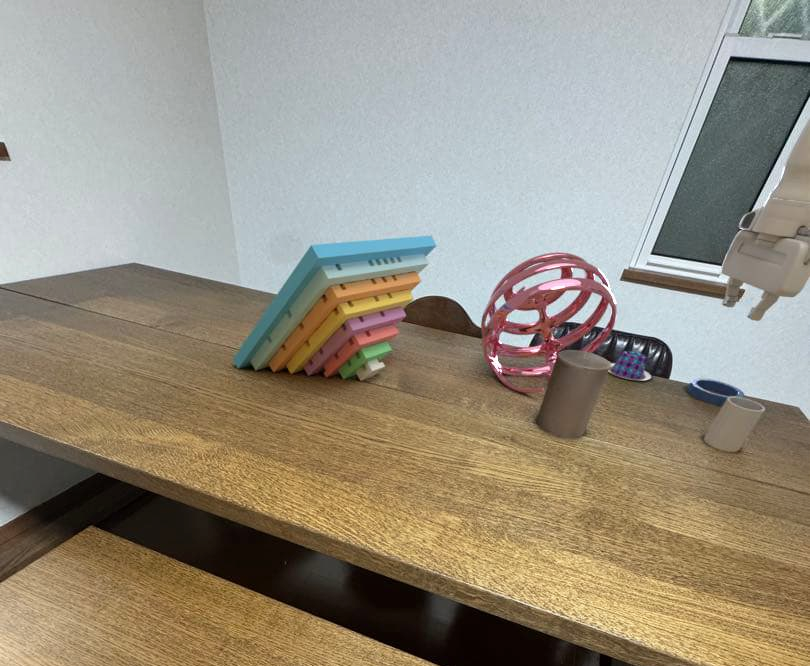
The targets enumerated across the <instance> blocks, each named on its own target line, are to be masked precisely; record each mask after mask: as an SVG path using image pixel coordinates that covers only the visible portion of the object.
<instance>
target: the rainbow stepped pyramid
mask: <svg viewBox="0 0 810 666" xmlns="http://www.w3.org/2000/svg"><path fill="white" fill-rule="evenodd" d="M436 247H437V243H436V241H435V239H434V237H433V235H420V236H409V237H408V236H407V237H406V236H405V237H395V238H394V237H393V238H383V239H382V238H381V239H369V240H355V241H345V242H331V243H330V242H329V243H319V244H311V245H310V246H309V247H308V249H307V250H306V251H305V253H304V255H303V256H302V258H301V259H300V260H299V262H298V263H297V264H296V266H295V268H294V269H293V270H292V272H291V274H290V275H289V276H288V278H287V279H286V281H285V282H284V284H283V285H282V286H281V288H280V289H279V290H278V292H277V294H276V295H275V296H274V298H273V299H272V301H271V303H270V304H269V305H268V307H267V308H266V309H265V311H264V312H263V314H262V316H261V317H260V318H259V320H258V322H257V323H256V324H255V325H254V327H253V328H252V330H251V331H250V333H249V334H248V336H247V337H246V339H245V340H244V341H243V342H242V345H241V346H240V348H239V349H238V350H237V352H236V353H235V355H234V356H233V357H232V361H233V363H234V365H235V366H236V368H237V369H242V368H246V367H249V366H252V367H253V368H254V370H255V371H259V370H262V369H265V368H270V369H271V371H272V372H273V373H275V372H279V371H282V370H285V369H287V370H288V372H289V373H290V375H292V374H295V373H299V372H301V371H305V372H306V374H307V376H309V377H310V376H312V375H315V374H318V373H322V372H323V375H324V377H325V378H329V377H332V376H335V375H338V374H340V377H341V378H342V379H343V380H345V379H348V378H352V377H353V376H356V375H357V377H358V379H359V380H360V382H362V381H364V380H367V379H370V378H373V377H374V376H375V375H377V374H378V373H379V372H380V371H381V370H382V369H384V368H385V367H386V366H385V363H384V362H383V361H381V360H383V358H384V357H385V356H387V355H388V354H389V353H391V352H392V350H393V349H392V346H391V345H390V342H391V341H392V340H393V339H395V337H397V336H398V335H399V334H400V332H399V329H398V328H397V325H398V324H400V322H402V321H403V320H404V319H405V318H406V317H407V314H406V312H405V310H404V309H405V308H406V307H407V306H408V305H409V304H410V303H412V301H413V300H414V299H415V298H414V295H413V294H412V291H413V290H414V289H415V288H416V287H418V285H419V284H420V283H421V282H422V278H421V277H420V275H419V274H420V273H421V272H422V271H423V270H424V269H425V268H426V267H427V266H428V265H429V264H430V262H429V261H428V258H427V256H428V255H429V254H430V253H431V252H432V251H433V250H434V249H435V248H436Z"/></svg>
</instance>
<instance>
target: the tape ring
mask: <svg viewBox="0 0 810 666" xmlns="http://www.w3.org/2000/svg"><path fill="white" fill-rule="evenodd" d="M709 390H710V391H709ZM711 390H712V391H715V392H712V391H711ZM686 392H687V393H688V394H689V395H690V396H691V397H693V398H696V399H698V400H700V401H703V402H705V403H709V404H711V405H712V404H713V405H715V406H721V407H722V406H723V405H724V403H725V401H726V399H727V398H728V397H742V398H745V392H743V391H742V389H740V388H738V387H736V386H735V385H731V384H729V383H727V382H723V381H721V380H720V381H719V380H716V379H711V378H704V377H703V378H702V377H701V378H699V377H698V378H693V379H691V380H690V382H689V383H688V385H687V387H686ZM716 392H718V393H716ZM720 393H721V394H720Z"/></svg>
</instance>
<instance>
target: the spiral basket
mask: <svg viewBox="0 0 810 666" xmlns="http://www.w3.org/2000/svg"><path fill="white" fill-rule="evenodd" d="M573 269H579V270H582V271H583V275H584V276H583V277H574V272H573ZM553 270H560V278H556V279H551V280H548V281H545V282H541V283H538V284H535V285H533V286H530V287H529V288H526V285H524V286H522V287H521V288H520V289H518V290H517V291H516V292H514V291H515V290H514V286H517V285H518V284H520V283H521V282H523V281H525V280H527V279H529V278H531V277H533V276H536V275H539V274H542V273H544V272H545V273H546V272H548V271H553ZM595 276H596V277H598V279H599V280H600V281H601V282H599V281H596V278H595ZM569 291H579V293H578V295H577V296H576V297H575V298H574V300H573V301H572V302H571V303H570V304H569V305H568V306H566V307H565V308H564V309H562V310H561V311H559V312H558V313H556V314H553V316H550V315H548V312H547V308H548V306H550V305H551V304H554V303H555V302H557V300H559V299H560V298H561V297H562V296H563V295H564V294H565V293H566V292H569ZM592 294H595V295H598V296H600V297H601V298H600V299H599V302H598V304H597V306H596V307H595V309H594V311H593V312H592V313H591V315H590V316H589V317H588V318H587V319H586V320H585V321H583V323H581V324H580V325H578V327H576V328H575V329H573V330H572V331H570V332H569V333H567V334H565V335H563V336H562V337H560V338H559V337H558V338H555V337H554V335H553V331H554V330H555V328H557V327H559V326H561V325H563V324H564V323H566V322H567V321H569V320H570V319H572V318H573V317H574V316H575V315H577V314H578V313H579V312H580V311H581V310H582V309H583V308H584V306H586V304H587V303H588V302H589V300H590V298H591V296H592ZM502 296H503V299H504V301H505V302H504V303H503V304H502V305H501V306H500V307H499V308H498V309H497V305H496V302H497V301H498V300H499V299H500V298H501V297H502ZM609 306H610V309H611V313H610V317H609V320H608V322H607V323H606V325H605V327H604V328H603V329H602V331H601V332H600V334H598V335H597V337H596V338H594V340H592V341H591V342H590V343H589V344H587V345H586V346H585V347H583V348H582V349H580V350H579V351H584V352H585V351H587V352H588V353H593V354H594V352H595V351H596V350H597V349H599V348H600V347H601V346H602V345H603V343H605V341H606V340H607V339H608V338H609V336H610V335H611V333H612V331H613V329H614V326H615V325H616V320H617V315H618V314H617V313H618V311H617V309H618V308H617V302H616V299H615V297H614V294H613V293H612V292H611V288H610V284H609V281H608V279H607V278H606V276H605V274H604V273H603V272H602V271H601V270H600V269H599V268H597V267H596V266H595V265H593V264H592V263H589V262H588V261H587V260H585V259H583V257H581V256H579V255H576V254H572V253H569V252H558V251H557V252H548V253H543V254H540V255H536V256H533V257H531V258H528V259H526V260H524V261H522V262H521V263H519V264H518V265H516V266H514V267H513V268H512V269H510V270H509V271H508V272H506V274H505V275H504V276H503V277H502V278H501V279H500V280H499V282H498V283H497V285H496V286H495V288H494V289H493V291H492V293H491V295H490V298H489V300H488V302H487V303H486V306H485V308H484V310H483V313H482V317H481V322H480V330H481V331H480V332H481V350H482V353H483V356H484V359H485V361H486V362H487V364H488V365H489V366H490V367H491V369H492V370H493V372H494V374H495V375H496V377H497V379H498V380H499V382H501V383H502V384H503V385H504V386H505V387H507V388H508V389H510V390H512V391H515V392H516V393H520V394H536V393H541V392H543V391H544V390H545V388H544V387H537V388H535V387H534V388H523V387H518V386H515V385H513V384H511V383H510V382H508V380H506V378H505V377H504V375H506V376H522V377H523V376H525V377H539V376H548V378H550V377H551V374H552V370H553V367H554V364H555V361H556V358H557V355H558V353H559V352H561V351H562V350H563V349H564V348H567V347H569V346H571V345H572V344H574V343H576V342H578V341H579V340H580V339H581V338H583V337H585V336H586V335H587V334H588V333H589V332H590V331H592V330H593V329H594V328H595V327H596V325H597V324H598V323H599V322H600V321H601V320H602V318H603V316H604V315H605V313H606V311H607V309H608V307H609ZM515 310H516V311H521V312H530V311H537V312H538V316H539V318H538V320H537V321H534V322H530V323H527V322H526V323H518V322H513V321H510V320H508V316H509V314H512V313H513V312H514V311H515ZM488 316H489V320H488V321H487V318H488ZM502 333H507V334H510V335H515V336H530V335H540V336H541V338H542V341H541V343H540V344H538V345H534V346H512V345H507V344H504V343H502V342H501V340H500V338H501V337H500V336H501V334H502ZM487 347H488V348H487ZM488 350H489V353H488ZM499 355H501V356H505V357H509V358H514V359H515V358H516V359H527V358H528V359H529V358H536V357H543V358H545V363H544V364H543V365H539V366H534V367H514V366H509V365H508V366H507V365H505V364H502V363H501V362H500V360H499V358H498V356H499Z"/></svg>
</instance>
